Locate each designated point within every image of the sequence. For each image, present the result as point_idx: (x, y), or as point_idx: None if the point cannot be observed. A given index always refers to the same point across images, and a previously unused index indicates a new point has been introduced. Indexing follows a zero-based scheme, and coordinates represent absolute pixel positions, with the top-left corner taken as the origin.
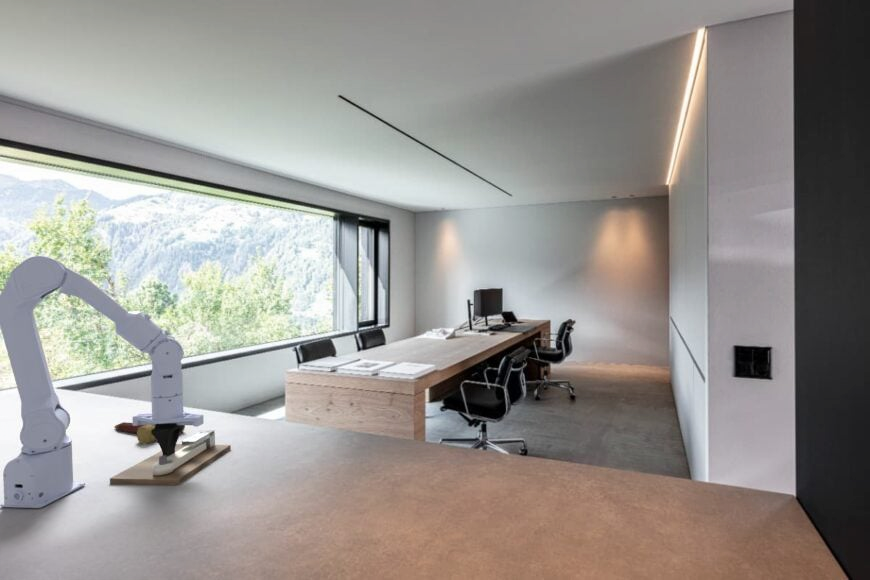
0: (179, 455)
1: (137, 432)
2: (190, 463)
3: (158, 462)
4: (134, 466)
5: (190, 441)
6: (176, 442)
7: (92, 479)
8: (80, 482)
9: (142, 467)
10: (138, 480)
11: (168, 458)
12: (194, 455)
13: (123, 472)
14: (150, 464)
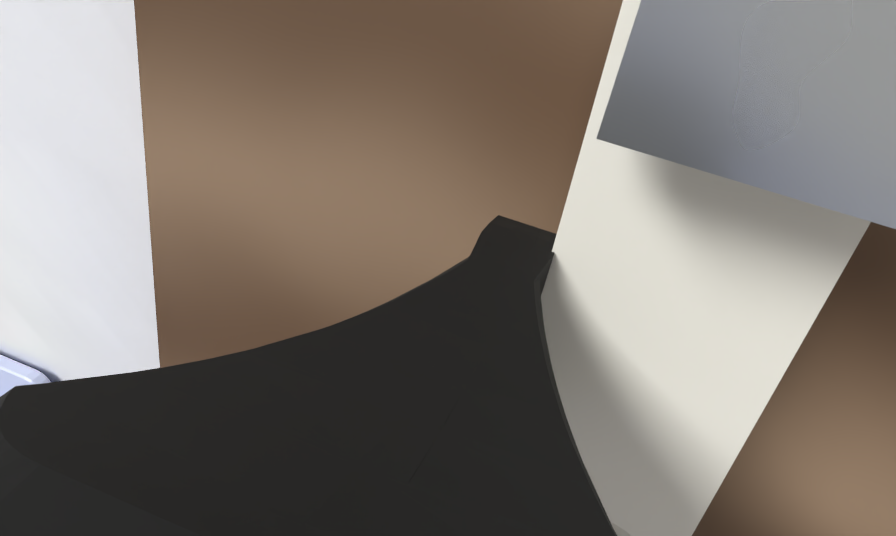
0: (679, 399)
1: None
2: (843, 335)
3: None
4: (171, 217)
5: (844, 210)
6: (545, 351)
7: (3, 272)
8: (4, 373)
9: (272, 272)
10: None
11: None
12: None
13: (179, 341)
14: (306, 208)
